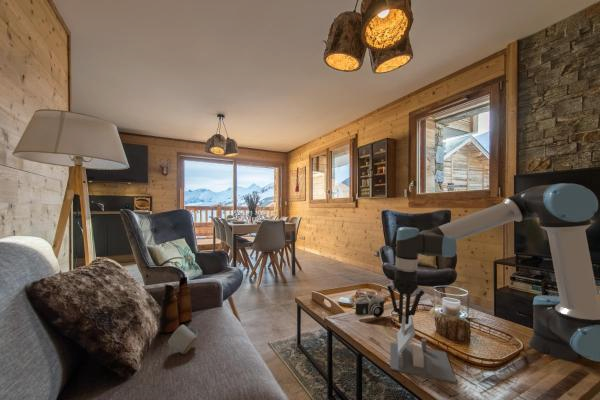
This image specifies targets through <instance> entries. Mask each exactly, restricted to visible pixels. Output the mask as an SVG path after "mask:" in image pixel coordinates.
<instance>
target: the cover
mask: <svg viewBox="0 0 600 400" xmlns="http://www.w3.org/2000/svg"><path fill="white" fill-rule="evenodd" d="M397 331H398V332H397ZM397 331H396V341H397V340H398V353H401V352H402V351H403V350H404V348H405V347H406V346H407V345H408V346H409V343H410V342H411V340H412V339H413V338H414V337H415V336H416V330H415V326H414V319H413V315H410V316H409V323H408V324H405V334H403V333H401V327H400V329H399V330H397Z"/></svg>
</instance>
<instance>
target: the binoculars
mask: <svg viewBox="0 0 600 400" xmlns="http://www.w3.org/2000/svg"><path fill="white" fill-rule="evenodd" d="M177 287H178V289H177V291H175V287H174V286H173V285H171V284H165V285H164V294H163V297H162V299H161V309H160V316H159V327H158V331H159V332H160V333H162V334H163V333H171V332H175V331H176V330H177V329H178V328H179V327H180V323H184V322H187V321H189V320H191V319H192V318H193V313H192V311H193V310H192V302H191V300H192V299H191V290H190V288H189V285H188V277H187V276H181V278H180V279H179V281H178V286H177Z"/></svg>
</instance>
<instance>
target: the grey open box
mask: <svg viewBox="0 0 600 400" xmlns="http://www.w3.org/2000/svg"><path fill="white" fill-rule="evenodd" d="M398 331H399V330H396V333H397V332H398ZM421 347H422V352H423V356H424V368H422V367H417V366H413V361H412V354H411V345H409V344H408V345H407V346H406V347H405V348H404V350H403V351H402V352H401V353H398V340H397V339H396V342H392V341H391V342H390V348H389V349H390V370H391V371H393V372H400V373H405V374H408V375H412V376H413V375H414V376H418V377H419V376H420V377H423V378H428V379H433V380H438V381H442V382H447V383H452V384H457V380H456V376H455V373H454V371H453V369H452V366H451V363H450V361H449V358H448V355H447V353H446V351H443V350H442V351H440V350H435V349H430V348H429V349H428V348H427V339H426V338H421Z"/></svg>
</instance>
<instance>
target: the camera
mask: <svg viewBox="0 0 600 400" xmlns="http://www.w3.org/2000/svg"><path fill="white" fill-rule="evenodd" d="M384 312H385V301H384V298H383V297H382V296H381V295H380V296H379V295H378V296H375V295H373V294H368V295H367V296H366V297H357V298H356V299H355V315H356V316H357V317H366V316H373V317H374V318H381V316H383V314H384Z"/></svg>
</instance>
